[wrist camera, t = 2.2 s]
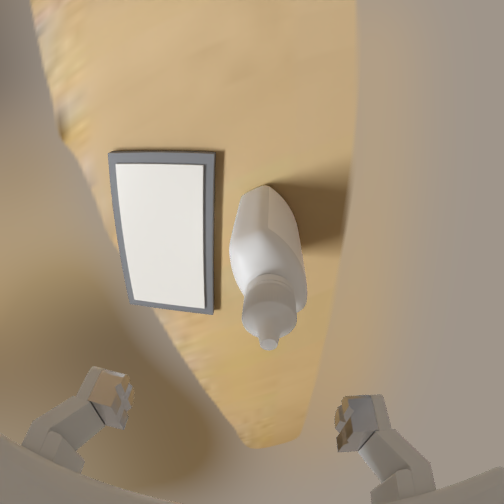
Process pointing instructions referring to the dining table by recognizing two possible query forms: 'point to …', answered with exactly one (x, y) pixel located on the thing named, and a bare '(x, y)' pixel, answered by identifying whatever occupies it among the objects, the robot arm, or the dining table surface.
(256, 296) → the eye dropper bottle
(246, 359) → the dining table surface
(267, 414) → the dining table surface
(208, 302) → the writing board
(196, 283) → the paper
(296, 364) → the dining table surface
